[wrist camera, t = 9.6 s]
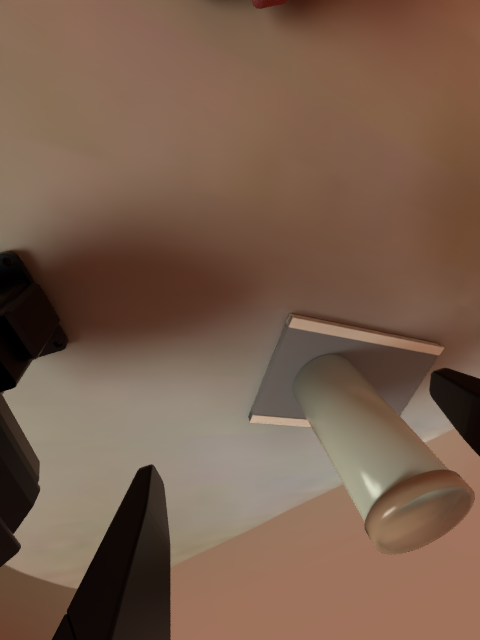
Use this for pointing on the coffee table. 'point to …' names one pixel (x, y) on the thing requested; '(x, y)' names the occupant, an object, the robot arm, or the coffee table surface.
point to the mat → (355, 345)
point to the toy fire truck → (267, 3)
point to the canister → (380, 458)
